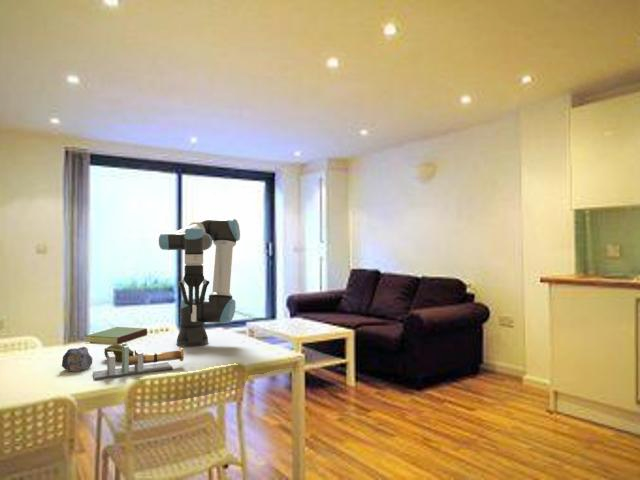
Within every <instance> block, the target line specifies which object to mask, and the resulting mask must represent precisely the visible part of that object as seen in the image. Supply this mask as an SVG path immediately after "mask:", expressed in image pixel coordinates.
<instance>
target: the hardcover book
mask: <svg viewBox="0 0 640 480" xmlns="http://www.w3.org/2000/svg"><path fill="white" fill-rule="evenodd" d="M146 335H148V328H145V327H144V328H143V327H127V326H126V327H124V326H115V327H112V328H107V329H105V330H101V331H96V332H93V333H91V334H86V335H85V337H86V343H96V344H98V343H99V344H112V345H121V344H122V343H127V342H128V341H131V340H135V339H137V338H141V337H143V336H146Z"/></svg>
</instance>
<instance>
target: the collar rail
mask: <svg viewBox="0 0 640 480" xmlns="http://www.w3.org/2000/svg"><path fill="white" fill-rule="evenodd" d="M121 345H122V362H121V367H120V368H119V367H118V368H116V362H115V355H114V353H113V352H107V358H106V361H107V362H106V364H107V365H106V367H107V369H103V370H96V371H92V376H93V381H102V380H107V379H109V380H110V379H116V378H123V377H131V376H139V375H146V374H153V373H161V372H167V371H169V372H170V371H173V366H172V365H171V364H170V363H169V361H168V362H167V361H165V362H157V363H149V364H143V355H144V352H143V351H142V349H141V348H135V349H134V356H136V355H137V365H133V366H130V365H129V349H130V346H129V345H128V343H127V342H123V343H121Z"/></svg>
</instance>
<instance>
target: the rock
mask: <svg viewBox="0 0 640 480" xmlns="http://www.w3.org/2000/svg"><path fill="white" fill-rule="evenodd" d="M92 365H93V357H92V356H91V354H90V352H89V349H88V347H85V346H81V347H79V348H70V349H68V350H67V351H66V352H65V353H64V354H63V356H62V364H61V367H62V368H63V369H65V371H68V372H70V373H75V372H76V373H77V372H83V371H86V370H87V369H88V368H90V367H91V366H92Z"/></svg>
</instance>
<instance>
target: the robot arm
mask: <svg viewBox="0 0 640 480" xmlns="http://www.w3.org/2000/svg"><path fill="white" fill-rule="evenodd" d="M240 239H241V229H240V224H239V222H238V220H237V219H235V218H229V217H225V218H220V217H219V218H213V217H211V218H209V217H208V218H203V219H200V220H196V221H193V222H191V223H190V224H189V225H188V226H186V227H183V228H181V229H179V230H178V229H177V230H175V231H173V232H162V233H160V234H159V236H158V246H159V248H160V249H161V250H162V251H163V250H165V251H166V250H167V251H178V250H179V251H180V250H181V251H184V264H185V265H184V276H183V278H182V280H180V281H178V282H177V285H178V286H179V288H180V291H181V295H182V299H181V301H180V307H179V309H180V310H179V311H180V316H179V317H180V329H179V332H178V334H177V338H176V345H177V346H179V347H198V346H199V347H200V346H205V345H207V344H208V343H209V337H208V334H207V331H206V328H205V323H207V324H208V323H209V324H212V323H213V324H226V323H231V321H232V320H233V318H234V316H235V312H236V308H237V307H236V300H235V299H234V298H233V295H232V294H231V292H230V291H231V290H230V289H231V276H232V263H233V248H234V247H235V246H236V245H237V242H238V241H240ZM212 245H214V246H215V254H214V267H213V278H212V280H213V281H212V291H211V292H210V294H208V299H207V298H206V292H207V290H208V286H209V284H210V282H211V281H210V280H207V279H205V276H204V265H203V264H204V251H207V250H209V249H210V248H211V247H212ZM185 284H186V286H188V288H187V289H188V295H187V291H186V287H185ZM201 285H202V287H201V292H200V286H201Z"/></svg>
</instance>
